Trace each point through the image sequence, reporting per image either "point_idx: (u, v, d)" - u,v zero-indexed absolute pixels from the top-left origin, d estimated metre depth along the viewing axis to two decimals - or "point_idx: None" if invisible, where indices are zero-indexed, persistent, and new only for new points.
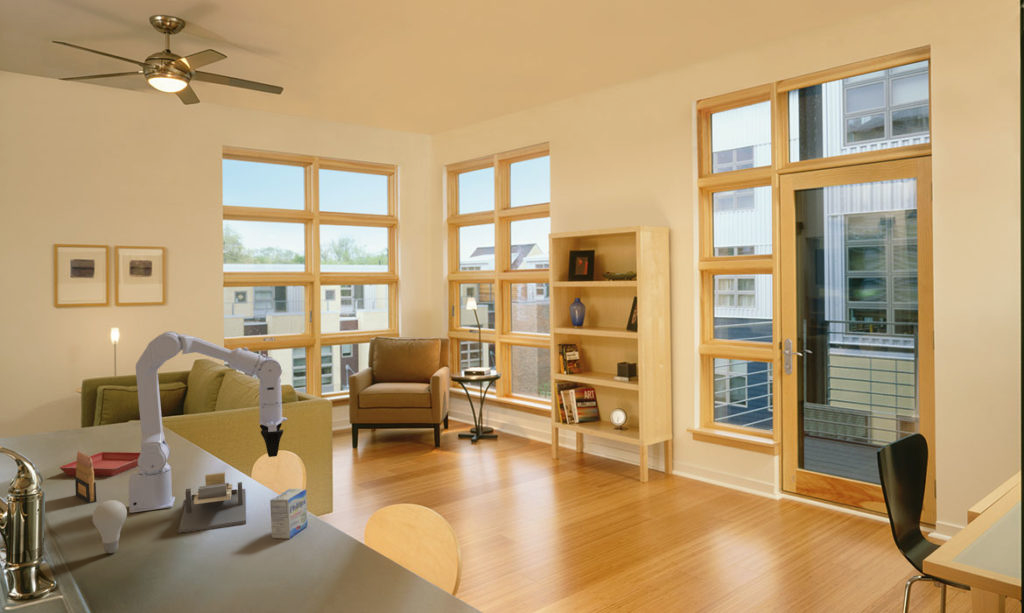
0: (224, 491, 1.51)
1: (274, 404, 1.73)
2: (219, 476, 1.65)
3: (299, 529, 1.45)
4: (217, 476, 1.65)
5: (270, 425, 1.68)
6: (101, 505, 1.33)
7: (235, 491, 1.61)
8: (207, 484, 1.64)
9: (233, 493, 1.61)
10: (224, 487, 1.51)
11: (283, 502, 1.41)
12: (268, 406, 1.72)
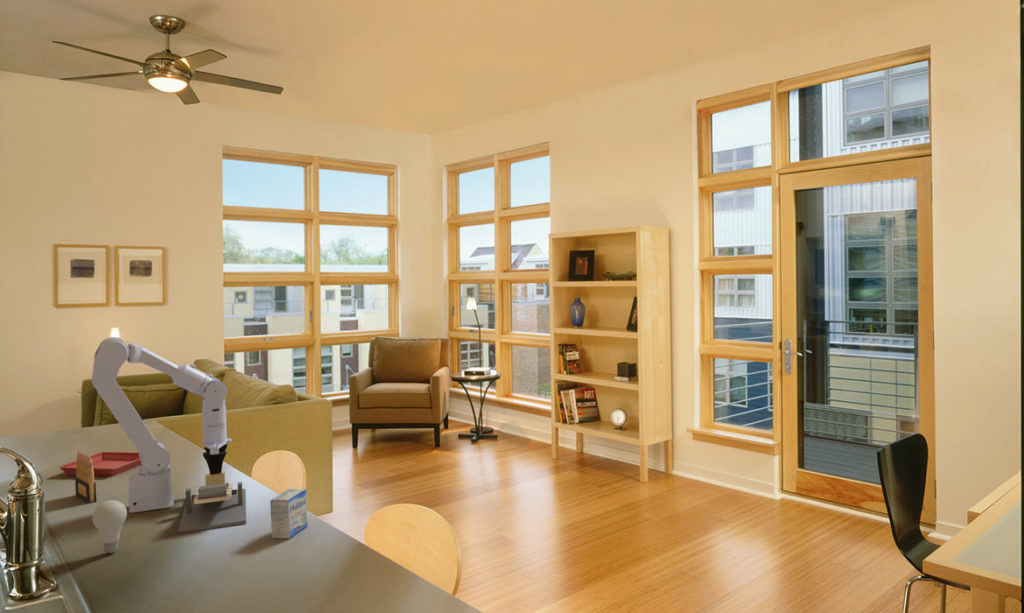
0: (224, 491, 1.51)
1: (217, 426, 1.70)
2: (219, 476, 1.65)
3: (299, 529, 1.45)
4: (217, 476, 1.65)
5: (212, 448, 1.65)
6: (101, 505, 1.33)
7: (235, 491, 1.61)
8: (207, 484, 1.64)
9: (233, 493, 1.61)
10: (224, 487, 1.51)
11: (283, 502, 1.41)
12: (211, 428, 1.69)
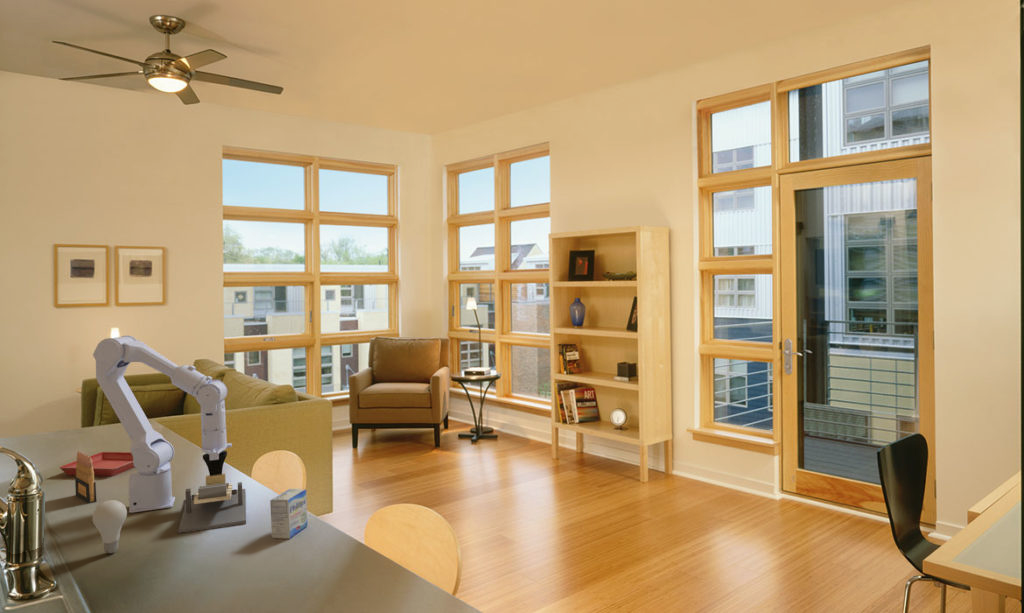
0: (224, 491, 1.51)
1: (217, 430, 1.63)
2: (220, 477, 1.62)
3: (299, 529, 1.45)
4: (218, 477, 1.62)
5: (211, 453, 1.59)
6: (101, 505, 1.33)
7: (235, 491, 1.61)
8: (207, 485, 1.61)
9: (233, 493, 1.61)
10: (224, 487, 1.51)
11: (283, 502, 1.41)
12: (210, 432, 1.63)
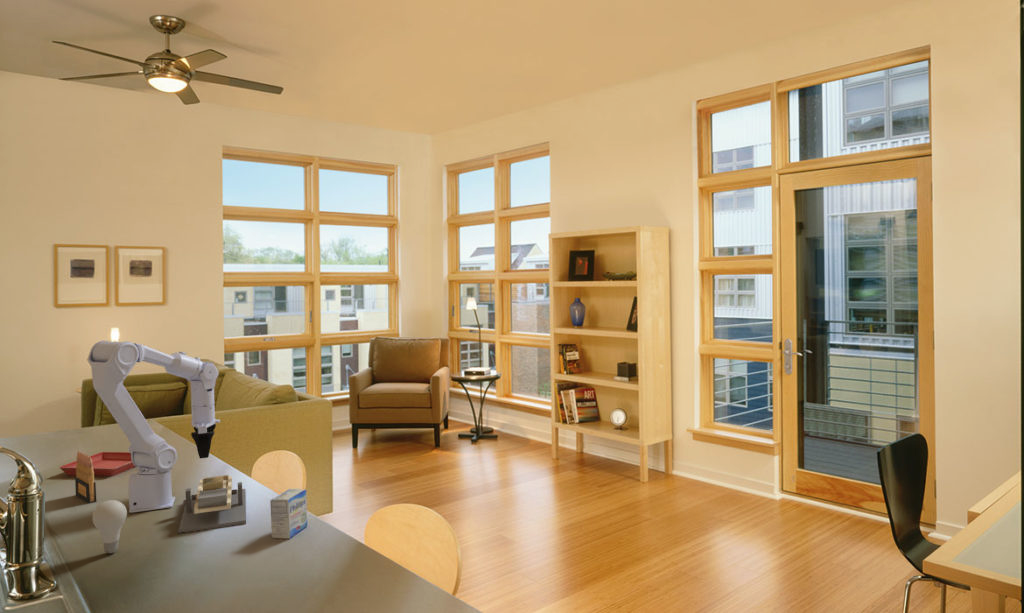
0: (224, 500, 1.51)
1: (206, 406, 1.75)
2: (217, 484, 1.55)
3: (299, 529, 1.45)
4: (215, 484, 1.55)
5: (200, 427, 1.71)
6: (101, 505, 1.33)
7: (235, 491, 1.61)
8: None
9: (233, 493, 1.61)
10: (224, 496, 1.51)
11: (283, 502, 1.41)
12: (199, 408, 1.75)
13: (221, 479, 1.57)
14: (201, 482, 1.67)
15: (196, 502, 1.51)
